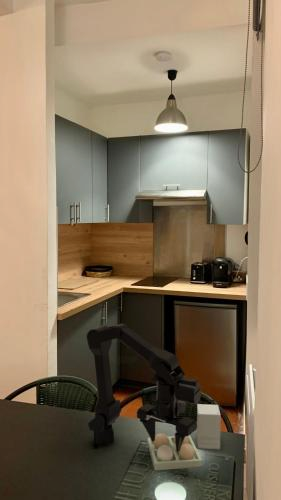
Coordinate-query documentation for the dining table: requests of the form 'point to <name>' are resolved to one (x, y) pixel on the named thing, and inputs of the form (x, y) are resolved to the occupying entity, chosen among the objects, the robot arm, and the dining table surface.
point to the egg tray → (174, 457)
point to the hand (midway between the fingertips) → (165, 445)
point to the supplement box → (208, 426)
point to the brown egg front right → (186, 452)
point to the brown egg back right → (186, 440)
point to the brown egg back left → (160, 440)
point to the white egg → (164, 453)
